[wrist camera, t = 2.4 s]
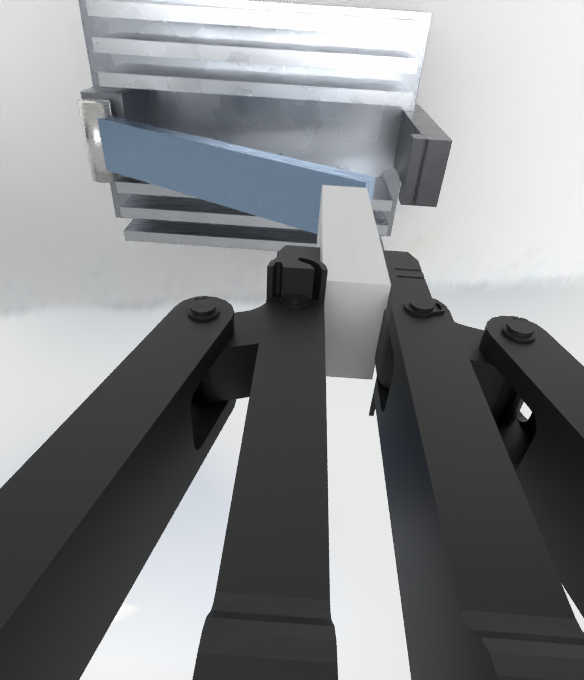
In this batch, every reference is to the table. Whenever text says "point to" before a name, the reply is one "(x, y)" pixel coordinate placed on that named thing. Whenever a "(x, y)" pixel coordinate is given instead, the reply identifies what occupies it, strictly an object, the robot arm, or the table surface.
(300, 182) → the blue long flat bar
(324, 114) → the heatsink
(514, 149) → the table surface
